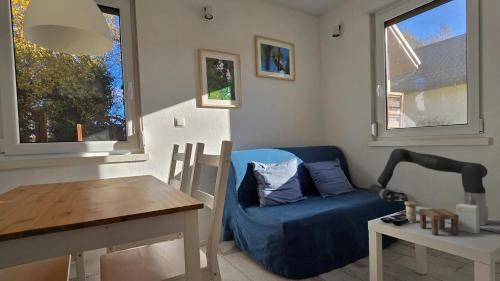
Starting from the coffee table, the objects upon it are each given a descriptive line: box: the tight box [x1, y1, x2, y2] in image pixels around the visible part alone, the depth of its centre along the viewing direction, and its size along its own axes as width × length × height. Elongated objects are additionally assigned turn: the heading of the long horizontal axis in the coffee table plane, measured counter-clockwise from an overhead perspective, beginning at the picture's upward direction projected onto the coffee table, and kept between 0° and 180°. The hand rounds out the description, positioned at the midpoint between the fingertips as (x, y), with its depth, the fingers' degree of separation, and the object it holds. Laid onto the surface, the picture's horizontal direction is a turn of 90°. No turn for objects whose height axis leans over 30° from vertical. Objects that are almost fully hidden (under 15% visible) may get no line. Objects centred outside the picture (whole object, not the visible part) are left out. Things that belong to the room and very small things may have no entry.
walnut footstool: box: [418, 208, 459, 236], centre depth 138 cm, size 12×12×10 cm
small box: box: [455, 203, 480, 234], centre depth 137 cm, size 8×6×13 cm
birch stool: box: [404, 200, 418, 224], centre depth 154 cm, size 6×6×11 cm
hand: (400, 200), depth 165 cm, fingers open, 8 cm apart
